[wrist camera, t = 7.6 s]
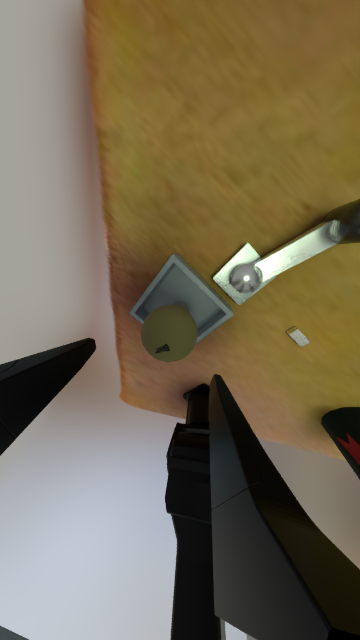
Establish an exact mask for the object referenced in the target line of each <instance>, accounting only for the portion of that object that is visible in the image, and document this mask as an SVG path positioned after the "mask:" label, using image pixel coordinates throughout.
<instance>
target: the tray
mask: <svg viewBox="0 0 360 640" xmlns="http://www.w3.org/2000/svg"><path fill="white" fill-rule="evenodd" d="M176 302H184V303H185V304H186V305H187V306H188V308H189V311H188V312H189V313H190V314H191V316H192V317H193V318H194V320H195V323H196V326H197V340H196V343H198V342H199V341H200V340H202V339H203V338H204V337H206V336H207V335H208V334H209V333H211V332H212V331H213V330H215V329H216V328H217V327H218V326H220V325H221V324H222V323H224V322H225V321H226V320H228V319H229V318H230V317H231V316H233V315H234V313H233V311H232V309H231V307H230V305H229V304H228V303H227V302H226V301H225V300H224V299H223V298H222V297H221V296H220V295H219V294H218V293H217V292H216V291H215V290H214V289H213V288H212V287H211V286H210V285H209V284H208V283H207V282H206V281H205V280H204V279H203V278H202V277H201V276H200V275H199V274H198V273H197V272H196V271H195V270H194V269H193V268H192V267H191V266H190V265H188V264H187V263H186V262H185V261H184V260H183V259H182V258H181V257H180V256H179V255H178V254H172V256H171V257H170V258H169V260H168V261H167V262H166V264H165V265H164V266H163V268H162V269H161V270H160V272H159V273H158V275H157V276H156V277H155V279H154V280H153V281H152V283H151V284H150V285H149V287H148V288H147V289H146V291H145V292H144V293H143V295H142V296H141V297H140V299H139V300H138V301H137V303H136V304H135V305H134V307H133V308H132V309H131V311H130V312H129V314H131V315H132V316H133V317H134V318H135V319H137V320H138V321H139V322H140V323H142V324H143V323H144V321H145V319H146V317H147V316H148V315H149V314H150V313H151V312H152V311H153V310H155V309H157V308H159V307H161V306H165V305H174V304H175V303H176Z"/></svg>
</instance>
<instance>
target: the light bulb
mask: <svg viewBox="0 0 360 640" xmlns="http://www.w3.org/2000/svg"><path fill="white" fill-rule="evenodd" d="M188 311H189V308H188V306H187V305H186V304H185V303H184V302H176V303H175V304H174V305H165V306H161V307H159V308H157V309H155V310H153V311H152V312H151V313H150V314H149V315H148V316H147V317H146V319H145V321H144V323H143V326H142V331H141V337H142V341H143V345H144V347H145V348H146V350H147V351H148V353H149V354H150V355H151V356H153V357H154V358H156V359H158V360H161V361H165V362H172V361H177V360H180V359H182V358H184V357H185V356H187V355H188V354H189V353H190V352H191V350H192V349H193V348H194V346H195V344H196V340H197V326H196V323H195V320H194V318H193V317H192V316H191V314H190V313H189V312H188Z"/></svg>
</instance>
